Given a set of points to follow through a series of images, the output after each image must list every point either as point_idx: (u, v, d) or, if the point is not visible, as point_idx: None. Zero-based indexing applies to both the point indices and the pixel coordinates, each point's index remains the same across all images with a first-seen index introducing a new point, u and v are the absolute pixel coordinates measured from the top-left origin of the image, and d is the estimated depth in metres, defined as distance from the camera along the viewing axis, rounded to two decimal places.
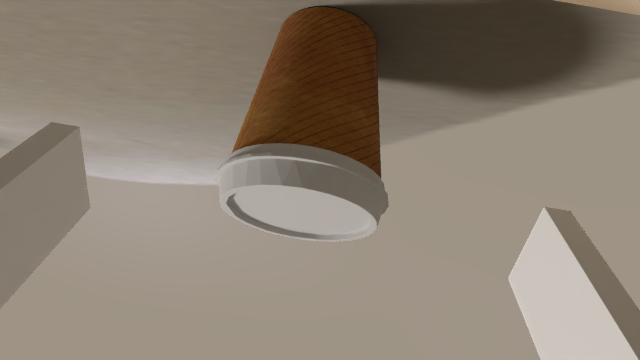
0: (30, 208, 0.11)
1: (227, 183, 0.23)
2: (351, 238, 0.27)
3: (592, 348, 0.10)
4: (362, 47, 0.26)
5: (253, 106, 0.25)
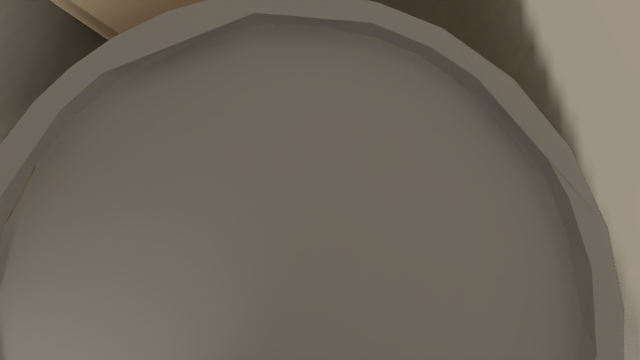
0: None
1: None
2: (569, 182, 0.06)
3: None
4: None
5: None
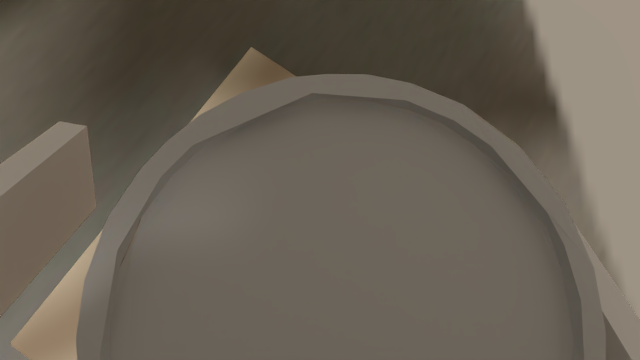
0: (39, 206, 0.11)
1: None
2: (564, 231, 0.08)
3: None
4: None
5: None
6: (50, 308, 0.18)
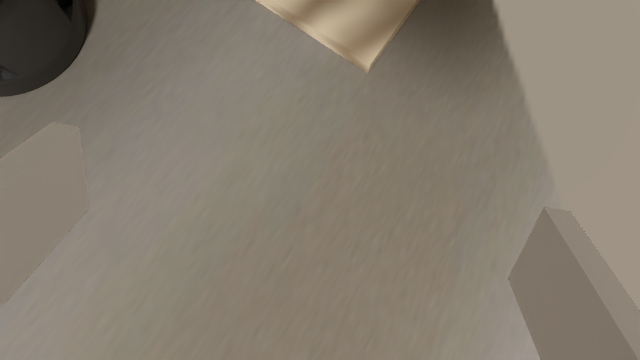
0: (30, 208, 0.11)
1: None
2: None
3: (592, 348, 0.10)
4: None
5: None
6: None
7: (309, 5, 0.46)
